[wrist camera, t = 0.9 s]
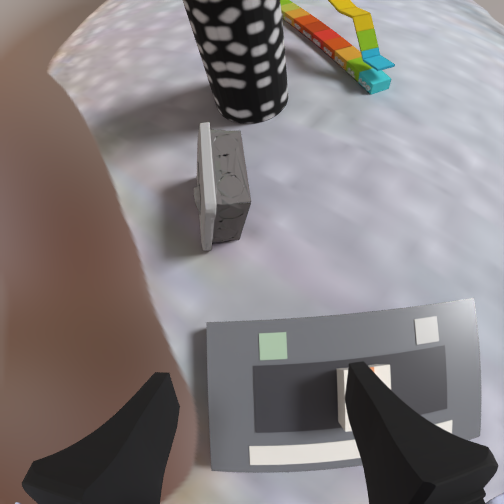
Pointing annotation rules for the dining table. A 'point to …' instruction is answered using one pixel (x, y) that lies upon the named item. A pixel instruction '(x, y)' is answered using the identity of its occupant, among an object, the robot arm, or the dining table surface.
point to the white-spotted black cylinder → (242, 55)
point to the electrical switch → (221, 185)
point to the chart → (345, 43)
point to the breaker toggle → (342, 374)
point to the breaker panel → (334, 381)
